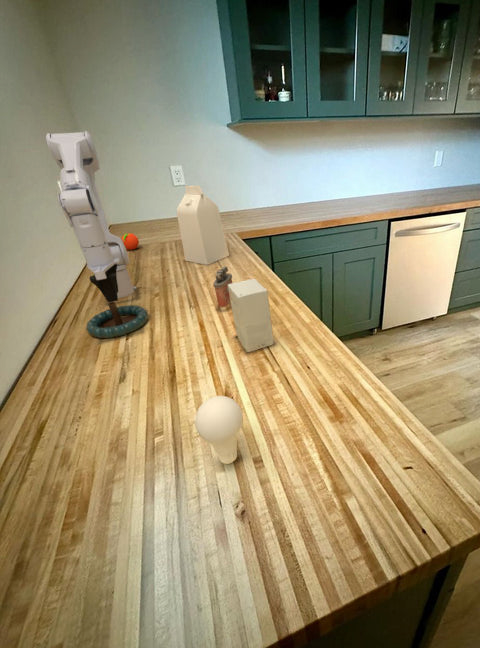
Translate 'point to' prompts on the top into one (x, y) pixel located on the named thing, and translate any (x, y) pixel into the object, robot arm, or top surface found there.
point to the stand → (116, 317)
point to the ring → (121, 329)
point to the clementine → (130, 241)
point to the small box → (251, 314)
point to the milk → (201, 228)
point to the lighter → (222, 286)
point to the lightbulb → (220, 425)
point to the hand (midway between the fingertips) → (113, 296)
